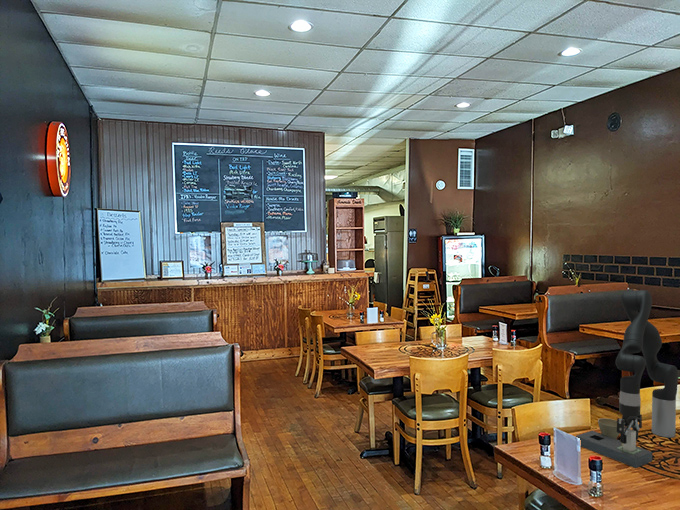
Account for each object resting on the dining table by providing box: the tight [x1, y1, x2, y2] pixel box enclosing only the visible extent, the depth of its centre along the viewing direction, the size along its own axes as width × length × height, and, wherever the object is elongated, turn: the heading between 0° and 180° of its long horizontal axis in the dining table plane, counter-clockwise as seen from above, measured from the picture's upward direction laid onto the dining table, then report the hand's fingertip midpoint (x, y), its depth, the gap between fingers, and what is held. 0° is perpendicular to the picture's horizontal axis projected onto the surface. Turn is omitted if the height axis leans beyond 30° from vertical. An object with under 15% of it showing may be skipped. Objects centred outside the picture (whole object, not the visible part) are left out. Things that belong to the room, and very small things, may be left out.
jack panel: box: [575, 430, 653, 469], centre depth 205 cm, size 12×26×4 cm, turn 30°
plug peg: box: [622, 428, 637, 452], centre depth 199 cm, size 3×4×12 cm
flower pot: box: [597, 417, 620, 439], centre depth 221 cm, size 10×10×7 cm
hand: (629, 441), depth 199 cm, fingers open, 8 cm apart
